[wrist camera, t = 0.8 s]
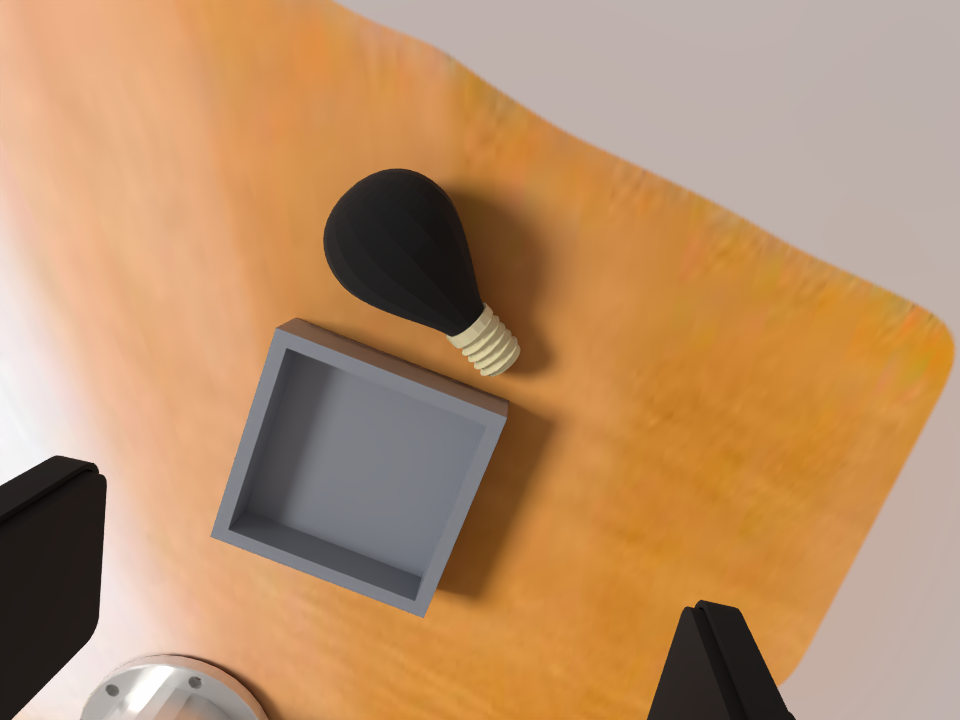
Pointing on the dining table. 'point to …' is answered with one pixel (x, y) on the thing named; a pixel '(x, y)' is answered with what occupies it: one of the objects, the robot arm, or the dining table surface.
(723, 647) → the robot arm
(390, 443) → the parts tray
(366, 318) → the dining table surface
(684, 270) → the dining table surface
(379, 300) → the light bulb
